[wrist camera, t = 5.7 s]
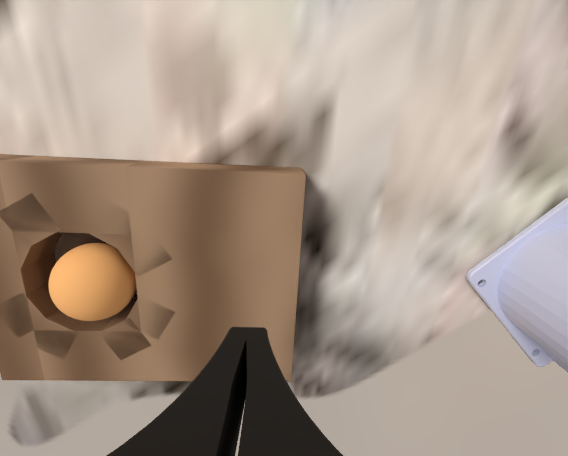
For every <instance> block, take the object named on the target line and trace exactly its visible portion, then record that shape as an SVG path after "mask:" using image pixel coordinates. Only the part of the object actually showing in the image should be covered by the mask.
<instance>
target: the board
mask: <svg viewBox="0 0 568 456" xmlns="http://www.w3.org/2000/svg"><path fill="white" fill-rule="evenodd" d="M305 180H306V174H305V173H304V172H303V170H302V169H301V168H291V167H269V166H247V165H225V164H203V163H180V162H158V161H136V160H114V159H92V158H70V157H48V156H25V155H3V154H0V373H1V377H2V380H92V381H193V380H194V379H195V378H196V377H197V375H198V374H199V373H200V372H201V371H202V369H203V368H204V367H205V366H206V364H207V363H208V362H209V360H210V359H211V358H212V356H213V355H214V353H215V352H216V351H217V349H218V348H219V346H220V344H221V343H222V341H223V340H224V338H225V336H226V335H227V333H228V331H229V329H230V328H231V327H264V328H266V330H267V333H268V338H269V342H270V345H271V348H272V351H273V354H274V356H275V359H276V361H277V363H278V365H279V368H280V370H281V372H282V374H283V376H284V378H285V380H286V381H287V382H291V378H292V363H293V349H294V335H295V321H296V307H297V293H298V279H299V264H300V250H301V236H302V222H303V208H304V194H305ZM62 232H64V233H89V234H90V235H92V236H94V237H96V238H98V239H100V240H102V241H104V242H106V243H108V244H110V245H112V246H114V247H115V248H117V249H118V250H119V252H120V253H121V254H122V256H123V257H124V258H125V260H126V261H127V262H128V264H129V265H130V266H131V268H132V269H133V270H134V272H135V277H136V287H137V297H138V299H136V300H134V301H132V302H130V303H129V304H128V305H127V306H126V307H125V308H124V309H123V310H121V311H120V312H118V313H117V314H115V315H113V316H111V317H108V318H106V319H102V320H97V321H83V320H78V319H74V318H72V317H69V316H67V315H66V314H64V313H63V312H61V311H60V310H59V309H58V308H57V307H56V305H55V304H54V303H53V301H52V299H51V297H50V293H49V277H50V274H51V271H52V269H53V267H54V265H55V264H56V263H55V257H54V252H53V250H54V248H55V246H56V244H57V242H58V240H59V238H60V235H61V233H62Z"/></svg>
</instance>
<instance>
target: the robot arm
mask: <svg viewBox="0 0 568 456" xmlns="http://www.w3.org/2000/svg"><path fill="white" fill-rule="evenodd" d="M466 279H467V281H468V282H469V283H470V285H471V286H472V287H473V288H474V290H475V291H476V292H477V293H478V295H479V296H480V297H481V298H482V300H483V301H484V302H485V303H486V305H487V306H488V307H489V308H490V310H491V311H492V312H493V313H494V315H495V316H496V317H497V318H498V319H499V321H500V322H501V323H502V325H503V326H504V327H505V328H506V330H507V331H508V332H509V333H510V335H511V336H512V337H513V338H514V340H515V341H516V342H517V343H518V345H519V346H520V347H521V348H522V350H523V351H524V352H525V353H526V355H527V356H528V357H529V358H530V360H531V361H532V362H533V363H534V364H535V365H536V366H538V367H543V366H546V365H547V364H549V363H550V362H552V361H553V360H554V361H555V362H556V363H557V364H558V365H560V366H561V367H562V368H563V369H565V370H566V371H567V372H568V197H567V198H566V199H565V200H563V201H562V202H561V203H559V204H558V205H557V206H555V207H554V208H553V209H551V210H550V211H549V212H547V213H546V214H545V215H543V216H542V217H541V218H539V219H538V220H537V221H535V222H534V223H533V224H531V225H530V226H528V227H527V228H526V229H524V230H523V231H522V232H520V233H519V234H518V235H516V236H515V237H514V238H512V239H511V240H510V241H508V242H507V243H506V244H504V245H503V246H502V247H500V248H499V249H498V250H496V251H495V252H494V253H492V254H491V255H489V256H488V257H487V258H485V259H484V260H483V261H481V262H480V263H479V264H477V265H476V266H475V267H473V268H472V269H471V270H469V272H468V273H467V275H466ZM480 280H482V282H481V283H480V284H478V282H479V281H480ZM244 403H245V408H244ZM243 409H244V415H243V423H242V430H241V437H240V445H239V452H238V456H343V455H342V454H341V453H340V452H339V451H338V450H337V449H336V448H335V447H334V446H333V445H332V444H331V442H330V441H329V440H328V439H327V438H326V437H325V436H324V434H323V433H322V432H321V431H320V430H319V428H318V427H317V426H316V425H315V423H314V422H313V421H312V420H311V418H310V417H309V416H308V414H307V413H306V412H305V411H304V409H303V408H302V406H301V405H300V403H299V402H298V400H297V398H296V397H295V395H294V394H293V392H292V390H291V389H290V387H289V385H288V383H287V381H286V380H285V378H284V376H283V374H282V372H281V370H280V368H279V365H278V363H277V361H276V359H275V356H274V354H273V351H272V348H271V345H270V342H269V338H268V333H267V330H266V328H264V327H231V328H230V329H229V331H228V333H227V335H226V336H225V338H224V340H223V341H222V343H221V344H220V346H219V348H218V349H217V351H216V352H215V353H214V355H213V356H212V358H211V359H210V360H209V362H208V363H207V364H206V366H205V367H204V368H203V369H202V371H201V372H200V373H199V374H198V375H197V377H196V378H195V379H194V380H193V382H192V383H191V384H190V385H189V386H188V387H187V388H186V389H185V390H184V391H183V393H182V394H181V395H180V396H179V397H178V398H177V399H176V400H175V401H174V402H173V403H172V404H171V405H169V406H168V407H167V408H166V409H165V410H164V411H163V412H162V413H161V414H160V415H159V416H158V417H156V418H155V419H154V420H153V421H152V422H151V423H150V424H148V425H147V426H146V427H145V428H143V429H142V430H141V431H139V432H138V433H137V434H136V435H134V436H133V437H132V438H130V439H129V440H128V441H127V442H125V443H124V444H123V445H121V446H120V447H119V448H117V449H116V450H114V451H113V452H111V453H110V454H108V455H107V456H235V452H236V447H237V441H238V436H239V430H240V425H241V420H242V414H243Z"/></svg>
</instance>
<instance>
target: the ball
mask: <svg viewBox="0 0 568 456" xmlns="http://www.w3.org/2000/svg"><path fill="white" fill-rule="evenodd" d="M136 290H137V287H136V277H135V272H134V270H133V269H132V268H131V266H130V265H129V264H128V262H127V261H126V260H125V258H124V257H123V256H122V254H121V253H120V252H119V250H118V249H117V248H115V247H114V246H112V245H110V244H106V243H88V244H83V245H80V246H78V247H75V248H73V249H71V250H70V251H68V252H67V253H65V254H64V255H63V256H62V257H61V258H60V259H59V260H58V261H57V262H56V264H55V265H54V267H53V269H52V271H51V274H50V277H49V293H50V297H51V299H52V301H53V303H54V304H55V305H56V307H57V308H58V309H59V310H60V311H61V312H63V313H64V314H66V315H67V316H69V317H72V318H74V319H78V320H83V321H97V320H102V319H106V318H108V317H111V316H113V315H115V314H117V313H118V312H120V311H121V310H123V309H124V308H125V307H126V306H127V305H128V304H129V303H130V301H131V300H132V298H133V297H134V295H135V293H136Z"/></svg>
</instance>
